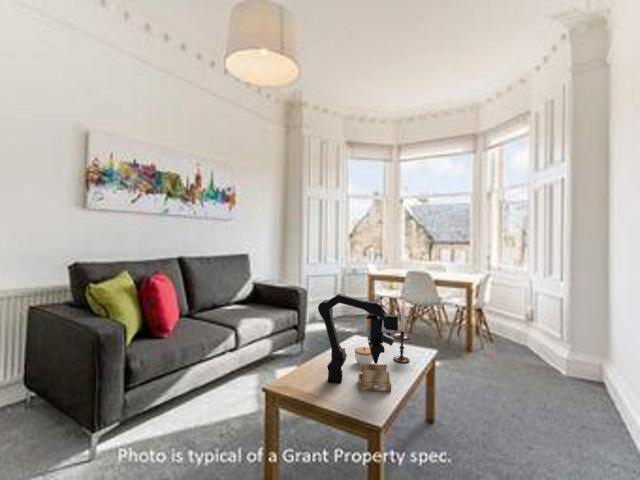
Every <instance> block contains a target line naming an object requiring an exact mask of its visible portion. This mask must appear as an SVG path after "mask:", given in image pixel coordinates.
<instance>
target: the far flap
mask: <svg viewBox="0 0 640 480" xmlns="http://www.w3.org/2000/svg"><path fill="white" fill-rule="evenodd" d="M387 368H388V364H382V363H381V364H380V363H377V364H375V363H370V364H363V363H361V365H360V373H362V370H372V371H387Z"/></svg>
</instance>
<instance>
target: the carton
mask: <svg viewBox="0 0 640 480" xmlns="http://www.w3.org/2000/svg"><path fill="white" fill-rule="evenodd" d="M357 377H358V389H359V391H361V392H363V391H365V392H379V393H380V392H383V393H391V392H392V382H391V379H390V377H389V383H379V382H362V372H360V373H358V376H357Z"/></svg>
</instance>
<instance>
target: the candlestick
mask: <svg viewBox="0 0 640 480" xmlns="http://www.w3.org/2000/svg"><path fill="white" fill-rule="evenodd" d="M400 310H401V313H400V314H401V315H400V316H401V317H400V318H401V319H400V330H399V329H398V332H395V333H392V337H393V338H394V340H399V341H400V346H399V354H400V355H397V356H396V355H395V356H394V357H393V358H392V359H393V361H394V362H396V363H398V364H408V363H410V360H411V359H410V358H408V357H407V356H404V353H405V351H404V349H405V347H404V341H410V340H412V339H413V336H412V335H411V334H409V333H406V332H407V331H406V330H405V319H406V318H405V315H406V313H405V312H406V311H405V310H406V307H405V300H403V301H402V307H401V309H400Z"/></svg>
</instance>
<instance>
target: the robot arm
mask: <svg viewBox="0 0 640 480" xmlns="http://www.w3.org/2000/svg"><path fill="white" fill-rule="evenodd" d="M338 304H342V305H345V306H346V305H347V306H350V307H353V308H357V309H361V310H364V311H365V312H366V313H368V314H367V315H366V316H365V319H367V320H369V324H370V325H369V334H368V336H367V342H368V343H367V344H368V348H370V352H371V354H372V357H373V362H374V363H373V364H378V360H379V358H380V354H381V353H382V354H383V353H385V345H383V344H386V345H389V346H390V347H393V344H394V341H395V338H393V335H392V334H391V332H389V331H398V332H399V315H389V314H387V312H386V311H385V309H384V305H383V303H382V302H381V301H379V300H364V299H361V298H357V297H352V296H349V295H345V294H342V293H338V294H337V295H335V296H334V297H332V298H330V299H326V300H323V301H321V302H320V303H319V304H318V307H317V310H318V312H319V316H320V317H321V318H322V320H323V322H324V326H325V328H326V333H327V337H328V340H329V345H330V348H331V355H330V356H331V357H330V358H331V360H330V361H329V363H328V365H327V366H326V367H327V370H328V371H327V376H328V377H327V383H329V384H330V383H332V384H342V382H343V370H342V367H343V366H344V363H346V360H347V356H348V354H347V353H346V348H345V347H343V348H342V346H341V345H340V344H341V343H340V341H339V340H340V339H339V337H338V333H337V329H336V326H335V321H334V317H333V316H334V315H333V313H334V309H333V308H334V307H335V306H337V305H338ZM383 328H384V329H385V330H386V332H385V333H384V332H383ZM387 330H388V331H387Z"/></svg>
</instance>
